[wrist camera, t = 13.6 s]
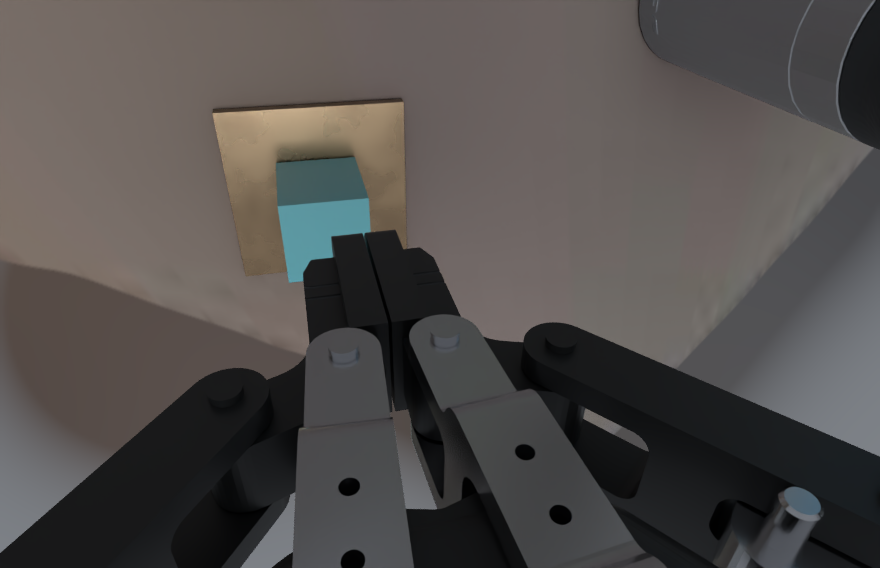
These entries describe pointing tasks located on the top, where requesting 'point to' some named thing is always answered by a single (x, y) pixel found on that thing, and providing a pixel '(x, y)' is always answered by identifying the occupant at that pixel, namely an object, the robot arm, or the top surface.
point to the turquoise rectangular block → (318, 208)
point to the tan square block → (301, 139)
